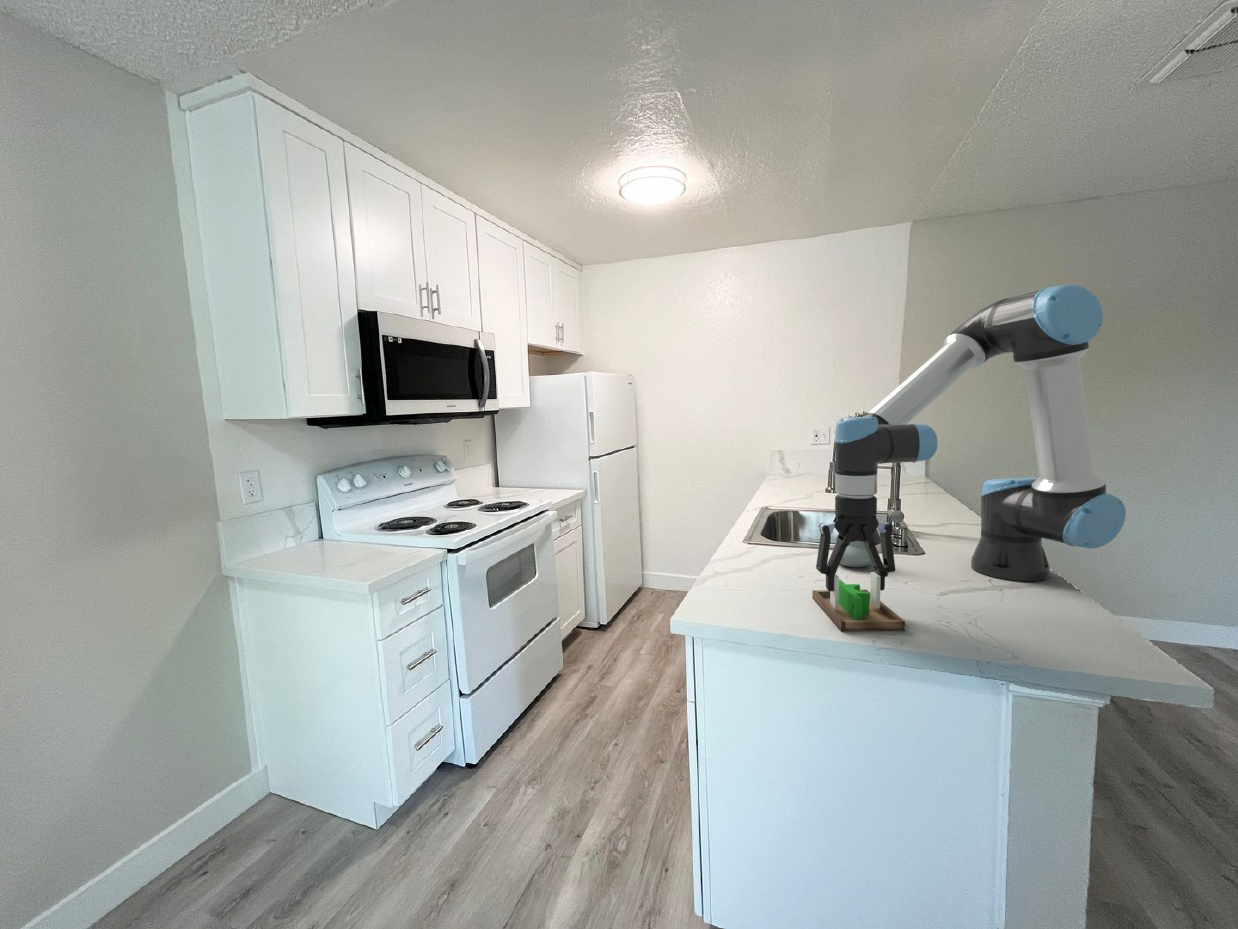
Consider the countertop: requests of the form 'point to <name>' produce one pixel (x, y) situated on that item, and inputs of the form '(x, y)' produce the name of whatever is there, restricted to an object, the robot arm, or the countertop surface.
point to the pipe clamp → (853, 600)
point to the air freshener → (855, 555)
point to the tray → (873, 622)
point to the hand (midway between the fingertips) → (854, 605)
